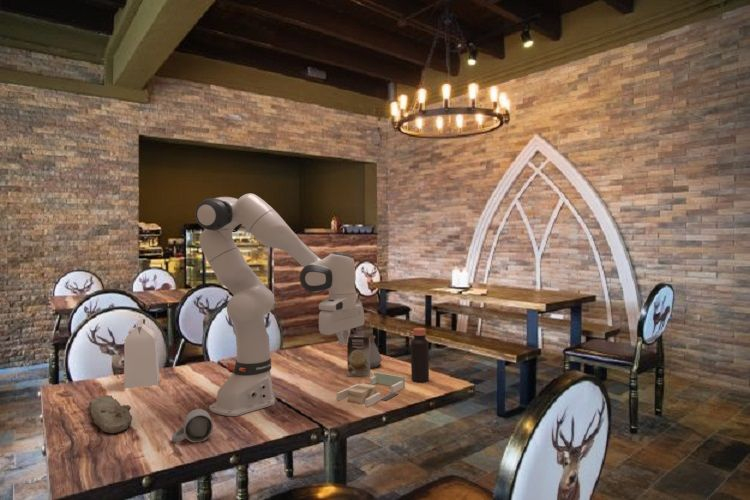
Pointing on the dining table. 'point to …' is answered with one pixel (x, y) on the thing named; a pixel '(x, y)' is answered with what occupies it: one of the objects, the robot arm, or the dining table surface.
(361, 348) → the coffee box
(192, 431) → the ceramic mug
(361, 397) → the maple block
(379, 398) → the box
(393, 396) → the pads
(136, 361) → the milk
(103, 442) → the dining table surface
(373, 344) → the coffee pot
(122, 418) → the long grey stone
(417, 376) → the bottle
